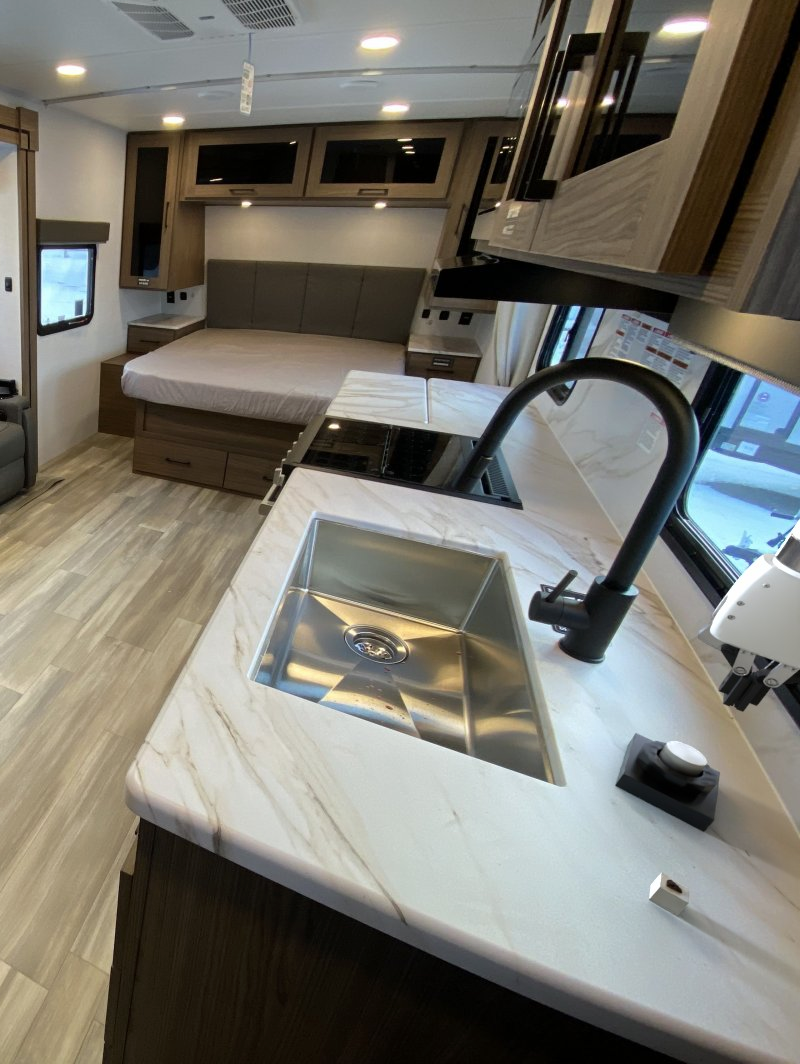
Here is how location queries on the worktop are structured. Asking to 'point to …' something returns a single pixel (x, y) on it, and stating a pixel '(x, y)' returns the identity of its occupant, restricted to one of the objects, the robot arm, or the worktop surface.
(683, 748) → the knob
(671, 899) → the cube with dark pebbles
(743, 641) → the robot arm
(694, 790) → the block
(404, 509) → the worktop surface
